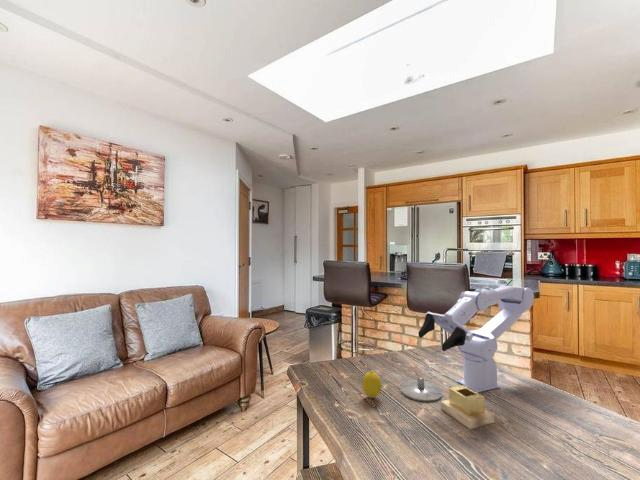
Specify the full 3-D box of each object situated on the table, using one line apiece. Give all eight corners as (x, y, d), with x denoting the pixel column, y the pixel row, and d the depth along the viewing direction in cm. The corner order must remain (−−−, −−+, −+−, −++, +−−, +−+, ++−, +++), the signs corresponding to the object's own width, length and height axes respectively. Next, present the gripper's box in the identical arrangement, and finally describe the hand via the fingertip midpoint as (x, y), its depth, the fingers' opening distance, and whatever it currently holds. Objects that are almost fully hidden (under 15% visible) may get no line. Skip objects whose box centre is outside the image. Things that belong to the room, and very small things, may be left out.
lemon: (381, 403, 87) (380, 375, 87) (362, 402, 88) (361, 374, 88) (381, 394, 92) (380, 368, 93) (363, 393, 94) (362, 367, 94)
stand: (463, 403, 86) (463, 390, 87) (494, 422, 77) (494, 408, 77) (441, 408, 84) (440, 395, 84) (469, 429, 74) (469, 414, 74)
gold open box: (463, 399, 85) (463, 385, 85) (484, 412, 78) (484, 396, 78) (449, 402, 83) (449, 388, 83) (469, 416, 76) (469, 400, 76)
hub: (424, 380, 101) (424, 368, 101) (450, 397, 90) (450, 383, 90) (393, 386, 97) (393, 374, 97) (417, 404, 86) (416, 390, 86)
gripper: (436, 296, 97) (409, 319, 91) (481, 316, 86) (454, 344, 79) (437, 313, 100) (411, 336, 94) (481, 334, 89) (454, 362, 82)
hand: (430, 341), depth 87 cm, fingers open, 7 cm apart
